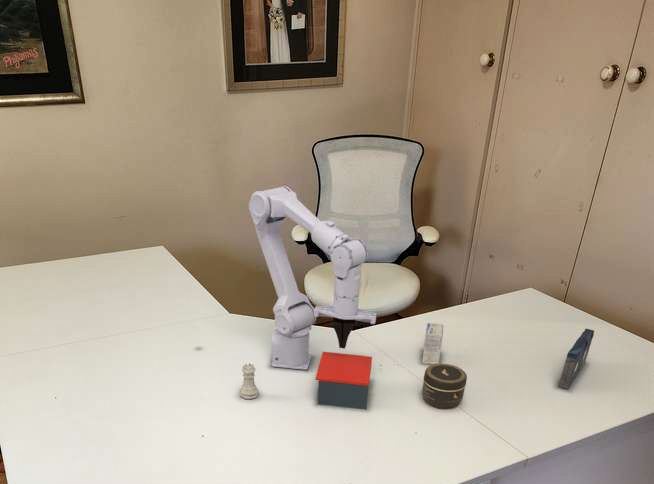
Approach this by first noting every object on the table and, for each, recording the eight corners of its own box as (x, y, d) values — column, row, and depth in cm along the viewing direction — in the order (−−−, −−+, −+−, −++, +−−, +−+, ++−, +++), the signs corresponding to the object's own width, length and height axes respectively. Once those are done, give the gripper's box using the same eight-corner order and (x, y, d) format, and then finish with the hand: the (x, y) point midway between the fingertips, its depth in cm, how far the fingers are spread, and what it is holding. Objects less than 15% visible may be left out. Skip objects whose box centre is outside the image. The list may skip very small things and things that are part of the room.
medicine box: (438, 365, 166) (443, 336, 161) (421, 363, 166) (425, 334, 162) (439, 352, 172) (443, 323, 168) (423, 350, 173) (427, 322, 168)
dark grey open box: (317, 404, 147) (318, 381, 144) (324, 376, 158) (325, 354, 155) (366, 409, 146) (368, 386, 142) (369, 381, 157) (371, 359, 154)
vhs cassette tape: (575, 360, 171) (585, 327, 166) (586, 364, 170) (597, 330, 164) (555, 386, 158) (565, 351, 153) (567, 390, 157) (578, 355, 152)
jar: (437, 415, 145) (442, 386, 141) (412, 394, 152) (416, 367, 148) (470, 405, 149) (476, 378, 145) (444, 386, 156) (449, 359, 152)
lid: (315, 380, 143) (315, 377, 143) (322, 353, 155) (322, 351, 155) (368, 386, 142) (369, 383, 142) (371, 359, 154) (372, 356, 153)
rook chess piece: (261, 392, 150) (261, 363, 146) (253, 401, 147) (253, 372, 142) (244, 389, 152) (243, 360, 147) (236, 398, 148) (235, 368, 144)
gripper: (380, 290, 145) (374, 343, 152) (319, 283, 147) (316, 335, 154) (376, 302, 139) (370, 356, 146) (312, 294, 141) (310, 348, 149)
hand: (342, 346), depth 150 cm, fingers closed
